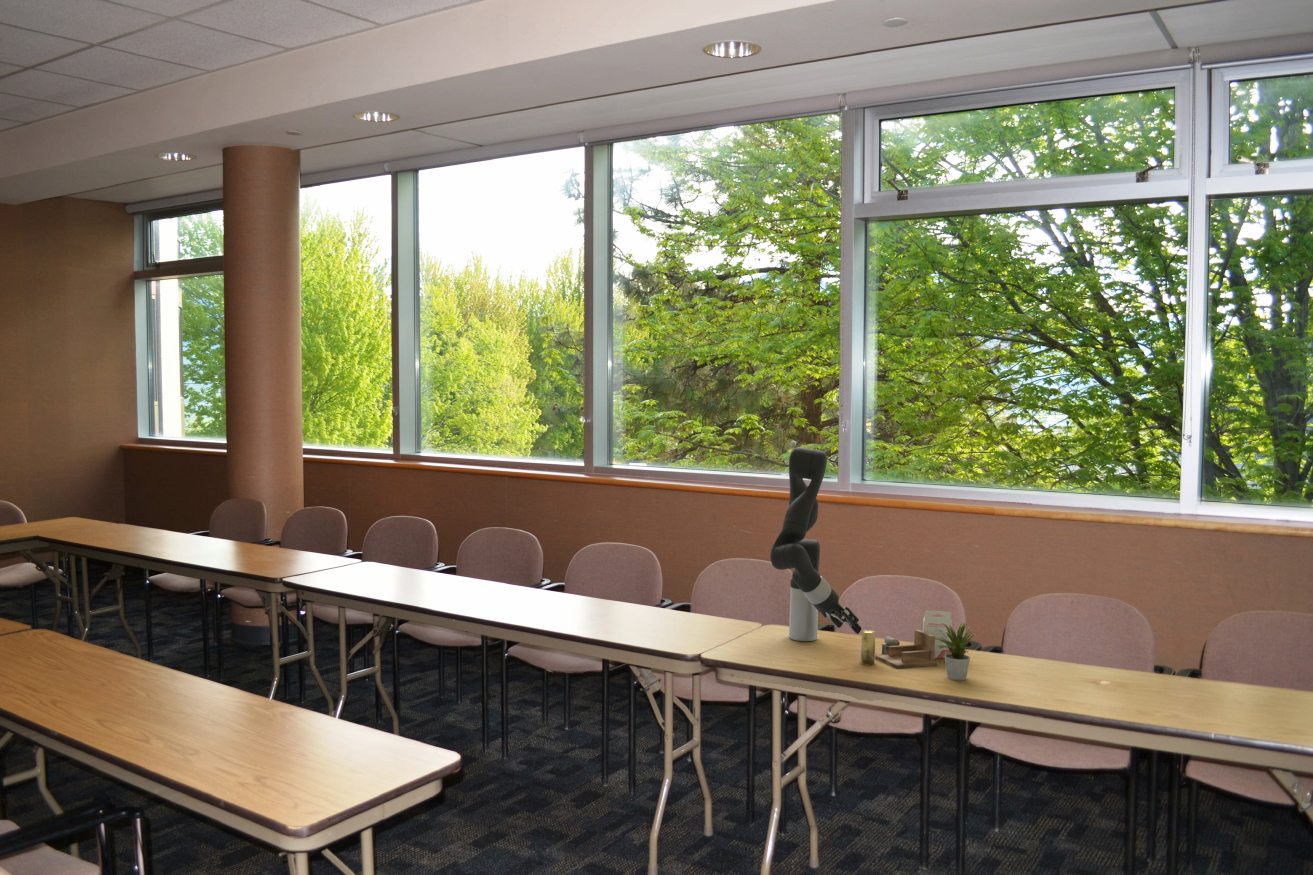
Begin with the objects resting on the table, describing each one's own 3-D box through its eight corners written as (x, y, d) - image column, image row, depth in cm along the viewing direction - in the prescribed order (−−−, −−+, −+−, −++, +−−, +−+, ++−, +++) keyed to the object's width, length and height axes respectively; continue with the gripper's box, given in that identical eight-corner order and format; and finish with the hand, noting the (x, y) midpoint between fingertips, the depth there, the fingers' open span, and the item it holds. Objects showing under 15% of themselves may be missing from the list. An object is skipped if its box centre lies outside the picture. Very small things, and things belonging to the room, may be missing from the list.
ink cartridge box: (950, 655, 305) (951, 608, 304) (951, 659, 300) (952, 612, 300) (922, 653, 307) (923, 607, 306) (922, 657, 302) (923, 610, 302)
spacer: (858, 661, 296) (859, 630, 296) (870, 660, 297) (870, 629, 297) (865, 664, 292) (866, 633, 292) (877, 664, 294) (877, 632, 293)
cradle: (867, 654, 304) (868, 627, 304) (906, 651, 309) (907, 625, 309) (896, 668, 289) (897, 640, 288) (937, 665, 293) (937, 637, 293)
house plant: (936, 667, 291) (938, 613, 290) (984, 673, 284) (986, 618, 284) (925, 678, 278) (926, 622, 278) (975, 686, 272) (977, 628, 271)
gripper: (842, 587, 280) (872, 623, 286) (812, 579, 293) (841, 614, 298) (827, 607, 278) (858, 643, 284) (797, 598, 290) (827, 632, 296)
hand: (849, 628), depth 291 cm, fingers open, 8 cm apart
